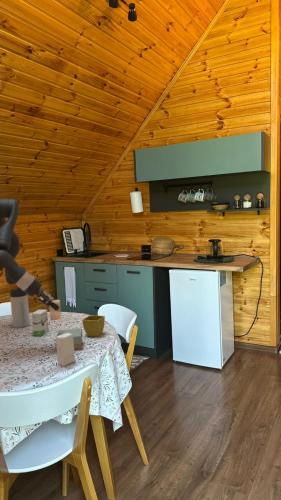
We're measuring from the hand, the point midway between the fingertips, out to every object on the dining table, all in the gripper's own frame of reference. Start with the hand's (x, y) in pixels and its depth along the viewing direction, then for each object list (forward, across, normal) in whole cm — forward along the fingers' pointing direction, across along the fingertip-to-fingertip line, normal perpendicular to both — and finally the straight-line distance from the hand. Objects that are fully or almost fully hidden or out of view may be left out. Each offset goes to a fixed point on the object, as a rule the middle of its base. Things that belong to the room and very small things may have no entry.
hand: (58, 307), depth 174 cm
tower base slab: (+17, 0, +11) cm, 20 cm away
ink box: (+6, +24, +21) cm, 33 cm away
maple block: (+3, 0, +4) cm, 5 cm away
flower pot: (+25, +12, +2) cm, 28 cm away
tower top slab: (+14, 0, +8) cm, 17 cm away
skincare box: (+16, -19, +12) cm, 27 cm away
